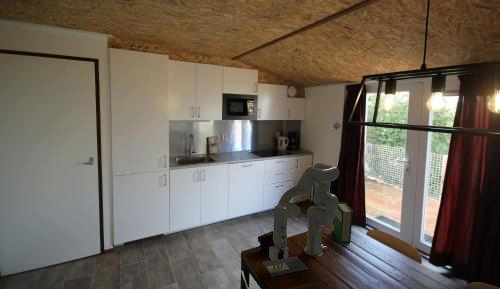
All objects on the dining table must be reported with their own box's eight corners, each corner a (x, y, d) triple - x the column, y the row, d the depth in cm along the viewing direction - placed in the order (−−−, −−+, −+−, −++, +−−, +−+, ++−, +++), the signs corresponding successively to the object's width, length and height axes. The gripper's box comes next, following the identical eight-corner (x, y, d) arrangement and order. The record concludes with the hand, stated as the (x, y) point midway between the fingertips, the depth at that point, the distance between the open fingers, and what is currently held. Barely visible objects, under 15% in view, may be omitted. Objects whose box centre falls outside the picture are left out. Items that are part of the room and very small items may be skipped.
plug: (293, 252, 154) (293, 243, 154) (296, 256, 150) (297, 246, 149) (269, 256, 149) (269, 246, 148) (272, 260, 145) (272, 250, 144)
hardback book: (350, 243, 183) (352, 211, 180) (339, 242, 184) (342, 210, 181) (343, 231, 201) (345, 202, 198) (333, 231, 201) (335, 202, 198)
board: (296, 257, 163) (296, 250, 162) (308, 270, 150) (309, 263, 149) (261, 264, 155) (262, 256, 154) (271, 278, 142) (271, 270, 141)
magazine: (282, 253, 164) (273, 233, 163) (263, 260, 166) (254, 240, 164) (282, 250, 168) (273, 230, 166) (263, 257, 169) (254, 237, 168)
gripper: (293, 232, 140) (291, 263, 142) (279, 220, 155) (278, 248, 158) (280, 234, 137) (279, 265, 139) (268, 221, 153) (266, 249, 155)
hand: (278, 256), depth 148 cm, fingers closed on plug, 4 cm apart
